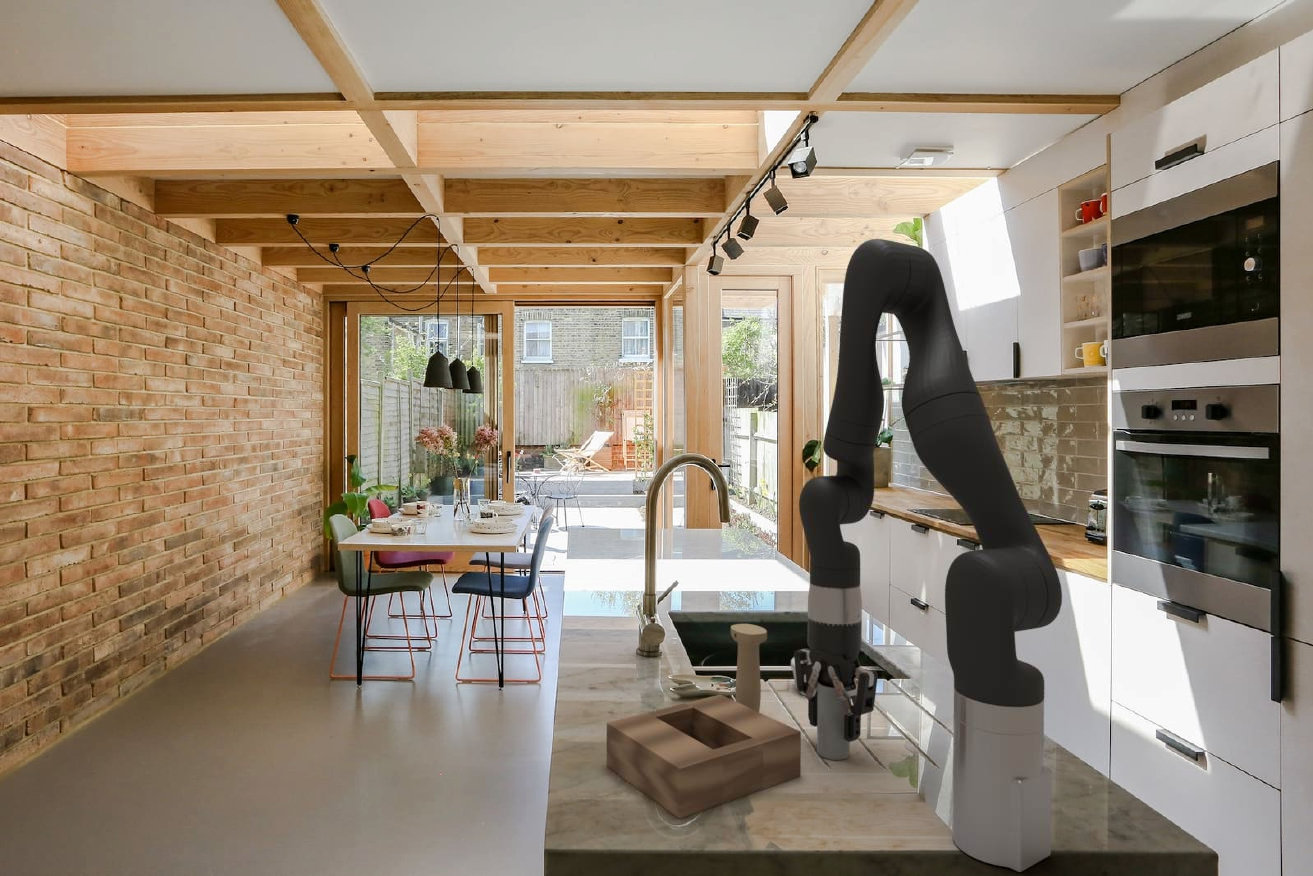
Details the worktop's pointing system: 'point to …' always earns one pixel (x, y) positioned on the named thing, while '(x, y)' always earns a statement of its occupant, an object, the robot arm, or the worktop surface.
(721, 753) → the well block
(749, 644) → the handle
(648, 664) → the worktop surface
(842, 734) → the grey cylinder
